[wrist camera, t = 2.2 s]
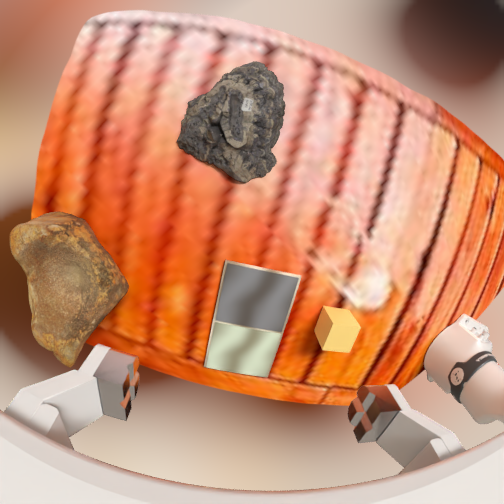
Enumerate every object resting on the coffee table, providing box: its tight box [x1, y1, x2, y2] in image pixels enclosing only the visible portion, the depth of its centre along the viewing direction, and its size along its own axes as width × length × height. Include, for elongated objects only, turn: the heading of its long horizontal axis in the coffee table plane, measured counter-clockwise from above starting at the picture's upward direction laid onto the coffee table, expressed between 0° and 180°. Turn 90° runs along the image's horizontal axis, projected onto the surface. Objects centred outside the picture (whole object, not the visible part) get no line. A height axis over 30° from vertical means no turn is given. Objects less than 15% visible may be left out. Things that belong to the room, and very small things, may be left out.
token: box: [314, 306, 361, 353], centre depth 44 cm, size 5×5×6 cm
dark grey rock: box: [177, 62, 285, 183], centre depth 36 cm, size 19×4×15 cm
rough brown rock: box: [10, 212, 129, 367], centre depth 36 cm, size 23×17×15 cm
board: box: [204, 260, 301, 377], centre depth 46 cm, size 12×21×1 cm, turn 167°
